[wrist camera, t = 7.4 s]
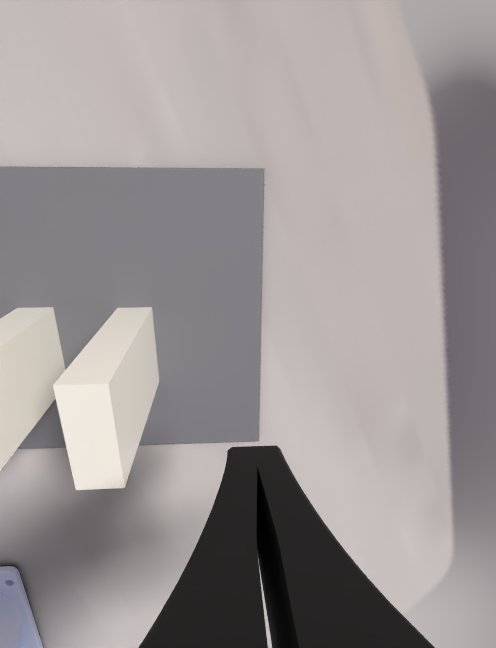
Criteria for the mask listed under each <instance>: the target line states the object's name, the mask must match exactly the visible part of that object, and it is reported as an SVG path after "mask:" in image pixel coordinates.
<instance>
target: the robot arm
mask: <svg viewBox="0 0 496 648" xmlns="http://www.w3.org/2000/svg"><path fill="white" fill-rule="evenodd" d="M257 553H258V554H257ZM258 559H259V563H258ZM259 566H260V572H261V578H262V584H263V591H264V597H265V603H266V609H267V616H268V622H269V628H270V635H271V641H272V648H434V646H433V645H432V644H431V643H429V641H428V640H427V639H425V638H424V636H423V635H422V634H421V633H420V632H419V631H418V630H417V629H416V628H415V627H414V626H413V625H411V623H410V622H409V621H408V620H407V619H406V618H405V617H404V616H403V615H402V614H401V613H400V612H399V611H398V610H397V609H396V608H395V607H394V606H393V605H392V604H391V603H390V602H389V601H388V600H387V599H386V598H385V597H384V595H383V594H382V593H381V592H380V591H379V590H378V589H377V588H376V587H375V585H374V584H373V583H372V582H371V581H370V580H369V579H368V578H367V576H366V575H365V574H364V573H363V572H362V571H361V569H360V568H359V567H358V566H357V565H356V563H355V562H354V561H353V560H352V559H351V557H350V556H349V555H348V554H347V552H346V551H345V550H344V549H343V547H342V546H341V545H340V544H339V542H338V541H337V540H336V538H335V537H334V536H333V534H332V533H331V531H330V530H329V529H328V527H327V526H326V525H325V523H324V522H323V520H322V519H321V518H320V516H319V515H318V513H317V512H316V510H315V509H314V507H313V506H312V504H311V503H310V501H309V500H308V498H307V497H306V495H305V494H304V492H303V490H302V489H301V487H300V485H299V484H298V482H297V480H296V479H295V477H294V475H293V473H292V472H291V470H290V468H289V466H288V464H287V462H286V460H285V458H284V456H283V454H282V452H281V450H280V448H279V447H277V446H251V447H232V448H230V449H229V450H228V454H227V462H226V467H225V471H224V475H223V478H222V482H221V485H220V488H219V491H218V494H217V496H216V499H215V502H214V505H213V508H212V510H211V513H210V515H209V518H208V520H207V522H206V525H205V527H204V529H203V531H202V534H201V536H200V538H199V541H198V543H197V545H196V547H195V549H194V551H193V553H192V556H191V558H190V560H189V562H188V564H187V566H186V567H185V569H184V571H183V573H182V575H181V577H180V579H179V581H178V583H177V584H176V586H175V588H174V590H173V592H172V593H171V595H170V597H169V599H168V600H167V602H166V604H165V605H164V607H163V609H162V611H161V612H160V614H159V616H158V618H157V619H156V621H155V622H154V624H153V626H152V627H151V629H150V631H149V632H148V634H147V635H146V637H145V639H144V640H143V642H142V643H141V645H140V646H139V648H268V646H267V637H266V628H265V619H264V610H263V601H262V592H261V583H260V573H259ZM0 648H43V645H42V642H41V639H40V636H39V633H38V630H37V627H36V623H35V620H34V617H33V614H32V611H31V608H30V605H29V602H28V598H27V595H26V592H25V589H24V586H23V583H22V580H21V577H20V573H19V571H18V569H17V568H15V567H13V566H3V567H0Z"/></svg>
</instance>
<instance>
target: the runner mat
mask: <svg viewBox="0 0 496 648" xmlns="http://www.w3.org/2000/svg"><path fill="white" fill-rule="evenodd" d="M263 213H264V169H242V168H109V167H0V318H2V317H4V316H5V315H7V314H8V313H10V312H12V311H13V310H15V309H16V308H43V307H53V309H54V314H55V319H56V324H57V329H58V334H59V339H60V345H61V350H62V355H63V360H64V365H65V370H66V369H67V368H68V367H69V365H70V364H71V363H72V362H73V361H74V359H75V358H76V357H77V356H78V355H79V353H80V352H81V351H82V350H83V349H84V347H85V346H86V345H87V344H88V343H89V341H90V340H91V339H92V338H93V337H94V335H95V334H96V333H97V332H98V331H99V329H100V328H101V327H102V326H103V325H104V323H105V322H106V321H107V320H108V319H109V317H110V316H111V315H112V314H113V313H114V311H115V310H116V309H117V308H140V307H152V313H153V323H154V333H155V343H156V353H157V363H158V373H159V384H158V387H157V390H156V393H155V396H154V399H153V403H152V406H151V409H150V412H149V415H148V418H147V421H146V424H145V427H144V430H143V433H142V436H141V439H140V442H139V445H159V444H190V443H220V442H251V441H259V412H260V362H261V312H262V263H263ZM37 448H66V443H65V439H64V434H63V430H62V425H61V420H60V416H59V411H58V407H57V402H56V399H55V400H54V402H53V403H52V404H51V405H50V407H49V408H48V409H47V411H46V412H45V413H44V415H43V416H42V417H41V418H40V420H39V421H38V422H37V424H36V425H35V426H34V427H33V429H32V430H31V431H30V433H29V434H28V435H27V437H26V438H25V439H24V440H23V442H22V443H21V444H20V446H19V447H18V448H17V449H37Z"/></svg>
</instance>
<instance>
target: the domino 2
mask: <svg viewBox="0 0 496 648" xmlns="http://www.w3.org/2000/svg"><path fill="white" fill-rule="evenodd" d="M158 384H159V373H158V363H157V353H156V343H155V333H154V323H153V313H152V307H140V308H117V309H116V310H115V311H114V313H113V314H112V315H111V316H110V317H109V319H108V320H107V321H106V322H105V323H104V325H103V326H102V327H101V328H100V329H99V331H98V332H97V333H96V334H95V335H94V337H93V338H92V339H91V340H90V341H89V343H88V344H87V345H86V346H85V347H84V349H83V350H82V351H81V352H80V353H79V355H78V356H77V357H76V358H75V359H74V361H73V362H72V363H71V364H70V365H69V367H68V368H67V369H66V370H65V371H64V373H63V374H62V375H61V376H60V377H59V379H58V380H57V381H56V382H55V383H54V385H53V389H54V393H55V398H56V402H57V407H58V411H59V416H60V420H61V425H62V430H63V434H64V439H65V443H66V448H67V452H68V457H69V461H70V466H71V470H72V475H73V480H74V484H75V489H76V490H89V489H113V488H125V485H126V482H127V479H128V476H129V473H130V470H131V467H132V464H133V461H134V458H135V455H136V452H137V449H138V446H139V442H140V439H141V436H142V433H143V430H144V427H145V424H146V421H147V418H148V415H149V412H150V409H151V406H152V403H153V399H154V396H155V393H156V390H157V387H158Z"/></svg>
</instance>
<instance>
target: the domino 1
mask: <svg viewBox="0 0 496 648" xmlns="http://www.w3.org/2000/svg"><path fill="white" fill-rule="evenodd" d="M64 371H65V365H64V360H63V355H62V350H61V345H60V339H59V334H58V329H57V324H56V319H55V314H54V309H53V307H43V308H16V309H15V310H13V311H12V312H10V313H8V314H7V315H5V316H4V317H2V318H0V470H1V469H2V468H3V466H4V465H5V464H6V463H7V461H8V460H9V459H10V457H11V456H12V455H13V453H14V452H15V451H16V450H17V448H18V447H19V446H20V444H21V443H22V442H23V440H24V439H25V438H26V437H27V435H28V434H29V433H30V431H31V430H32V429H33V427H34V426H35V425H36V424H37V422H38V421H39V420H40V418H41V417H42V416H43V415H44V413H45V412H46V411H47V409H48V408H49V407H50V405H51V404H52V403H53V402H54V400H55V399H56V398H55V393H54V389H53V385H54V383H55V382H56V381H57V380H58V379H59V377H60V376H61V375H62V374H63V373H64Z"/></svg>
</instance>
